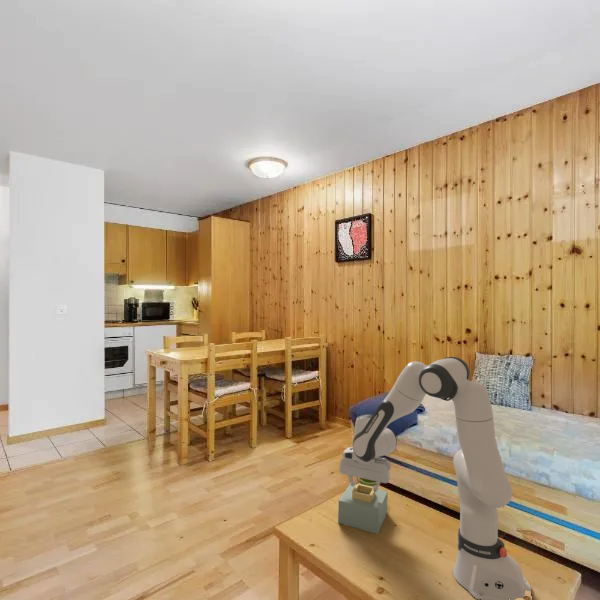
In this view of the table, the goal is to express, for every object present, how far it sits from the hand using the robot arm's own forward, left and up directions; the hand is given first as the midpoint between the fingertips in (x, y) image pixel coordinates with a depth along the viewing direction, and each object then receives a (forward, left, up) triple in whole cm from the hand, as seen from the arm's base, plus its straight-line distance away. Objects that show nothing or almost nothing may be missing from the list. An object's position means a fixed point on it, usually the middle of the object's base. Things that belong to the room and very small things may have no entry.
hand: (364, 488), depth 158 cm
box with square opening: (0, 0, -12) cm, 12 cm away
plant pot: (+2, -17, -12) cm, 21 cm away
